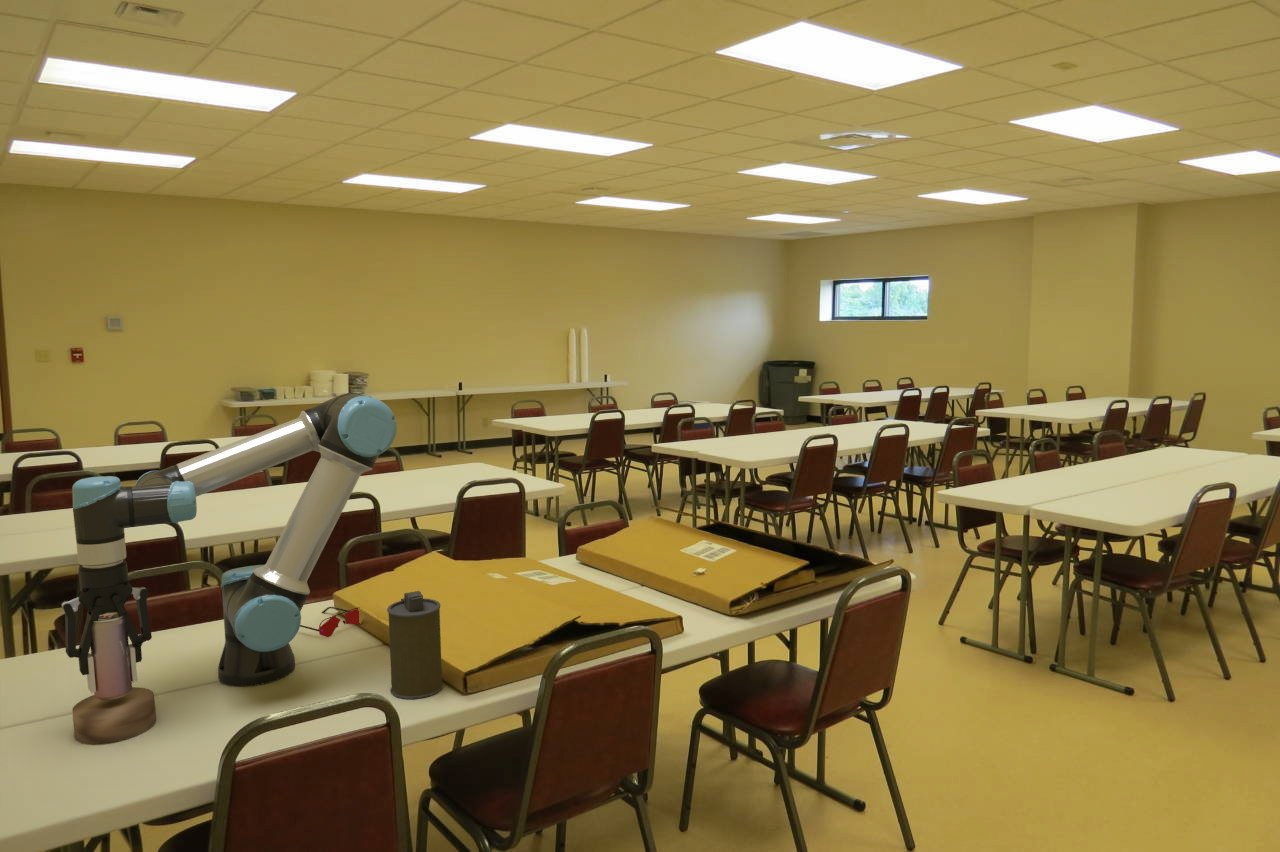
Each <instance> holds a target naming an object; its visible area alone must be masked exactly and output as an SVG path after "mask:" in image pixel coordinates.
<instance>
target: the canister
mask: <svg viewBox="0 0 1280 852" xmlns="http://www.w3.org/2000/svg"><path fill="white" fill-rule="evenodd" d="M403 595H404V596H403V598H401V599H400V600H399V601H396V602H394V603H392V604H390V605H388V607H387V609H386V613H387V614H388V631H389V633H388V635H389V656H390V680H391V683H390V684H391V687H390V693H391V694H392V696H394V697H396V698H399V699H403V700H417V699H426V698H429V697H431V696H434V695H436V694H438V693H439V692H440V691H441V690H442V689H443V687H444V683H443V676H442V675H443V673H442V644H441V611H440V608H441V603H440V602H439V601H438V600H437V599H431V598H424V595H423V594H422V593H421V591H419V590H417V591H411V592H404V594H403Z"/></svg>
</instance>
